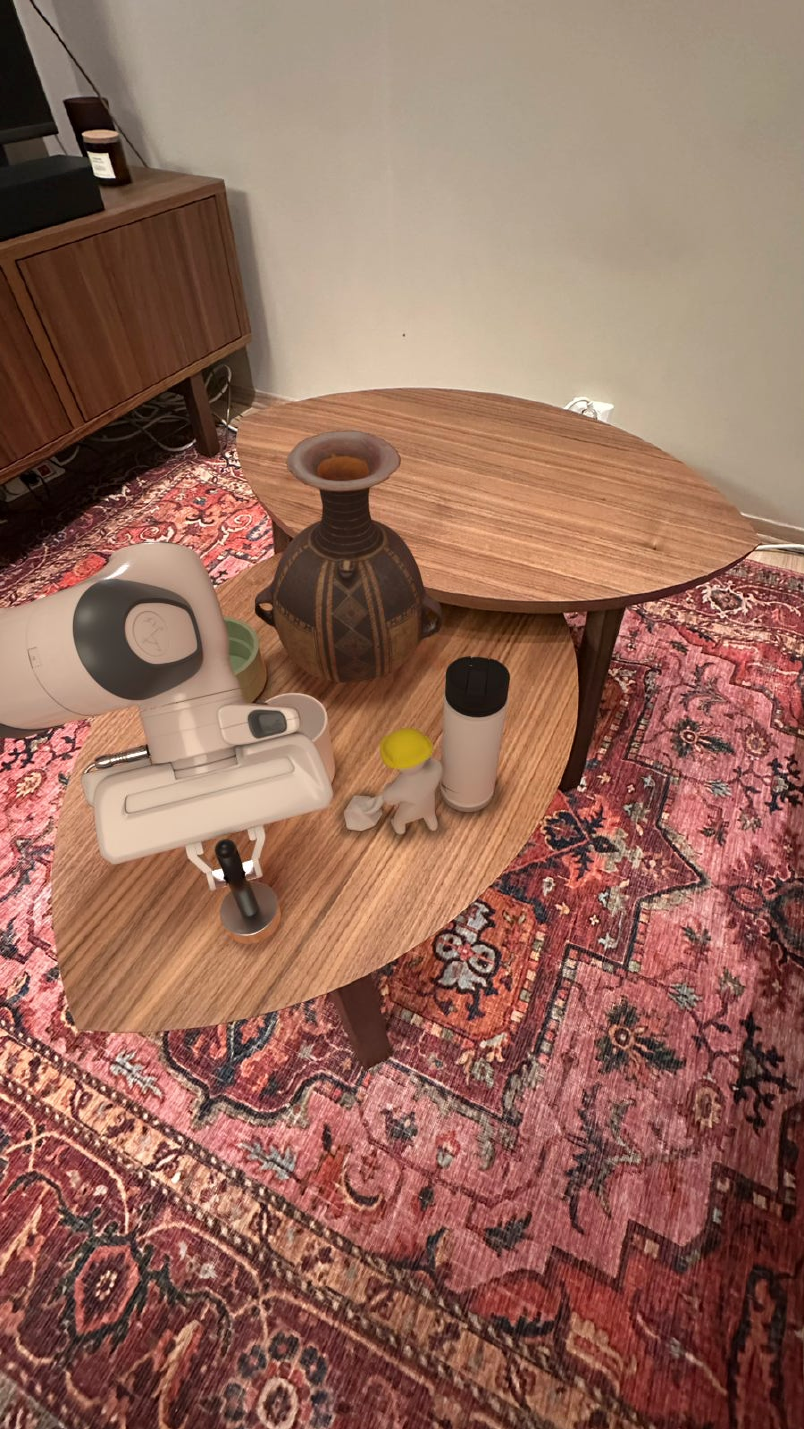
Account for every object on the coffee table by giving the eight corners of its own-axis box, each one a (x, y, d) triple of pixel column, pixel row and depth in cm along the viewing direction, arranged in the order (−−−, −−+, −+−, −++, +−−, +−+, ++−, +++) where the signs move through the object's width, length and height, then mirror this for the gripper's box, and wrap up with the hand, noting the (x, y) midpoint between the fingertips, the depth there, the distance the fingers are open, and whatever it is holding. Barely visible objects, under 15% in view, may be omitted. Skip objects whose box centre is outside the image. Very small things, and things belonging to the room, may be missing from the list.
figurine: (399, 768, 82) (396, 681, 71) (453, 815, 78) (460, 731, 66) (333, 816, 78) (320, 733, 66) (387, 870, 73) (382, 790, 62)
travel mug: (436, 812, 78) (440, 693, 63) (443, 765, 82) (449, 644, 67) (490, 819, 77) (509, 701, 62) (495, 772, 81) (513, 651, 66)
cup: (349, 781, 81) (342, 726, 73) (260, 834, 76) (242, 781, 69) (312, 737, 85) (302, 681, 78) (226, 785, 81) (206, 731, 73)
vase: (248, 684, 92) (193, 480, 69) (314, 598, 103) (286, 398, 80) (406, 734, 86) (403, 528, 63) (458, 636, 97) (471, 432, 74)
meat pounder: (234, 954, 65) (200, 885, 55) (216, 905, 69) (181, 832, 58) (289, 927, 67) (266, 856, 56) (269, 881, 70) (244, 805, 60)
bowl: (188, 732, 86) (174, 697, 81) (163, 670, 94) (149, 635, 89) (280, 697, 90) (272, 662, 85) (249, 641, 97) (240, 605, 92)
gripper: (65, 765, 55) (109, 928, 56) (314, 706, 59) (351, 859, 60) (84, 757, 61) (124, 904, 62) (309, 704, 65) (342, 843, 66)
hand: (237, 882), depth 61 cm, fingers closed on meat pounder
